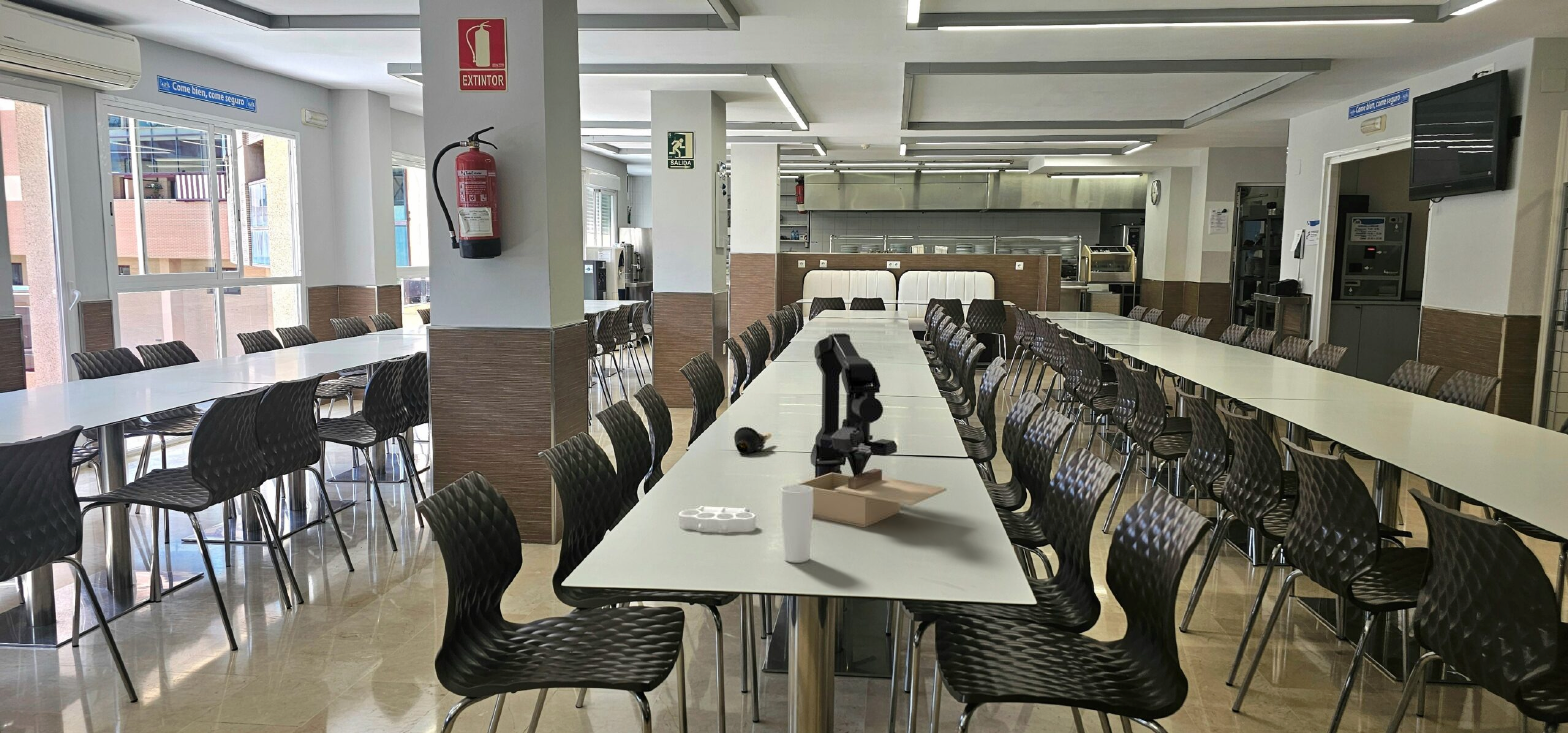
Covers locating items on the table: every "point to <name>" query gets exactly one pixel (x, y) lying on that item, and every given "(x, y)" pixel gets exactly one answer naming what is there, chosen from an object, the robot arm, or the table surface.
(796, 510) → the drinking glass
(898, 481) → the mailer lid
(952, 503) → the table surface
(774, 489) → the table surface
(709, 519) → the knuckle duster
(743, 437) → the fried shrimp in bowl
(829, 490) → the mailer box
